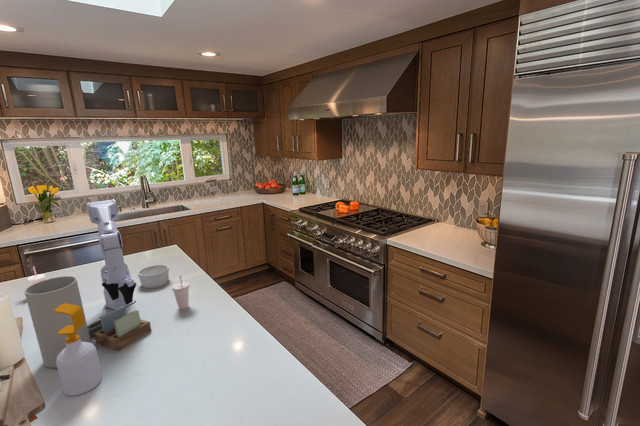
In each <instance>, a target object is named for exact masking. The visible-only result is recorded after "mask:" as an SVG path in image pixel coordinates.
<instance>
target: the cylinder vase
mask: <svg viewBox="0 0 640 426" xmlns="http://www.w3.org/2000/svg"><path fill="white" fill-rule="evenodd" d="M23 291H24V296H25V298H26V302H27V306H28V311H29V313H30V317H31V322H32V326H33V329H34V332H35V337H36V341H37V342H38V347H39V350H40V354H41V358H42V361H43V365H44V366H45V367H46V368H49V369H57V365H56V359H57V356H58V355H59V353H60V352H61V351H62V350H63V349H65V348H66V343H65V340H66V339H67V338H68V336H65V335H58V332H59V331H60V330H61V329H63V328H64V327H65V326H68V325H73V322H72V318H71V317H70V316H69V315H67V314H62V313H56V312H54V311H55V309H56V308H58V307H59V306H60V305H62V304H64V303H67V304H72V305H78V306H80V307H81V308H82V311H83V315H84V319H85V324H84V325H83V326H82V327H81V328H80V329H79V330H77V333H75V334H76V335H80V339H81V342H89V343H92V340H91V338H90V336H89V332H88V327H87V326H88V324H87V319H86V314H85V310H84V306H83V302H82V297H81V293H80V289H79V284H78V280H77V277H76V276H73V275H64V276H63V275H62V276H56V277H51V278H46V279H45V280H43V281H40V282H38V283H35V284H33V285H31V286H30V285H29V286H28V287H26V288H25V290H23Z"/></svg>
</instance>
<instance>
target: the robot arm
mask: <svg viewBox="0 0 640 426" xmlns="http://www.w3.org/2000/svg"><path fill="white" fill-rule="evenodd" d="M85 205H86V210H87V215H88V217H89V221H90V222H91V224H96V225H97V231H98V242H99V247H100V250H101V254H102V257H103V260H104V264H103V266H102V267H101V268H100V277H101V286H102V287H103V296H104V301H105V304H104V305H103V306H104V307H106V308H108V309H112V310H115V309H117V308H119V307H121V306H124V307H125V308H126V307H128V306H130V305H133V304H134V303H136V302H137V300H136V299H133V298H134V292H135V289H136V287H137V282H135V280H134V279H133V278H131V274H130V268H129V266H128V264H127V262H125V258H124V254H123V238H122V235H121V233H120V231H119V230H118V227H117V224H116V222H115V221H116V220H118V216H119V215H118V213H119V212H118V205H117V201H116V200H115V199H114V198H113V199H107V200H99V201H92V202H89V201H88V202H87V203H86V204H85Z"/></svg>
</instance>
